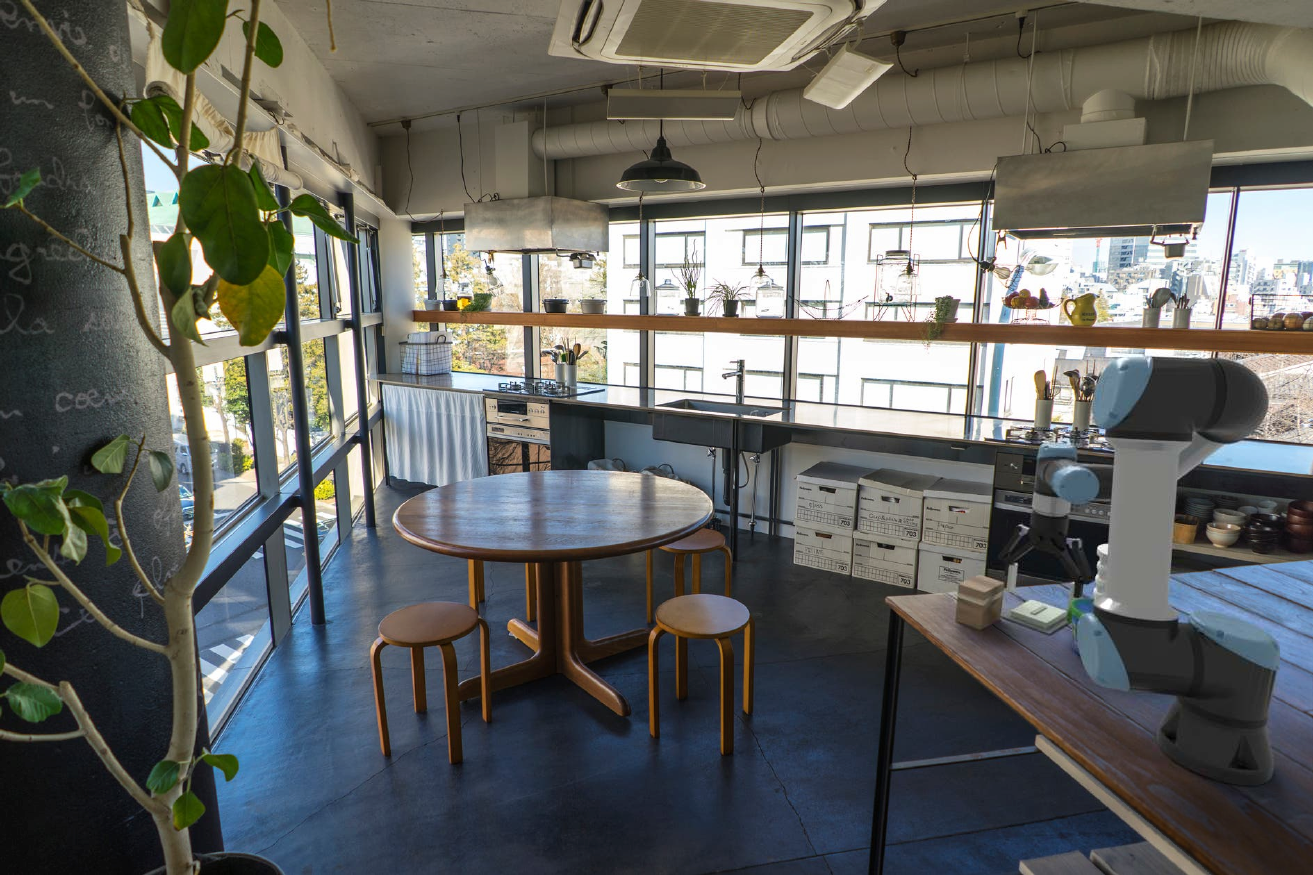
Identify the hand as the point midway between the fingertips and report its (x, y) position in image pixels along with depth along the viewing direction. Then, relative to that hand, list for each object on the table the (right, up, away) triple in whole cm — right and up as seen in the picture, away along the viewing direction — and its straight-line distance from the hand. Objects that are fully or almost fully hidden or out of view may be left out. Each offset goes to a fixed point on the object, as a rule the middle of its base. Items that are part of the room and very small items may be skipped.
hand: (1040, 599), depth 166 cm
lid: (0, -4, +1) cm, 4 cm away
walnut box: (-14, -5, 0) cm, 15 cm away
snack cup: (+3, -8, -15) cm, 18 cm away
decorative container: (+15, -6, -3) cm, 17 cm away
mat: (0, -4, +1) cm, 5 cm away
